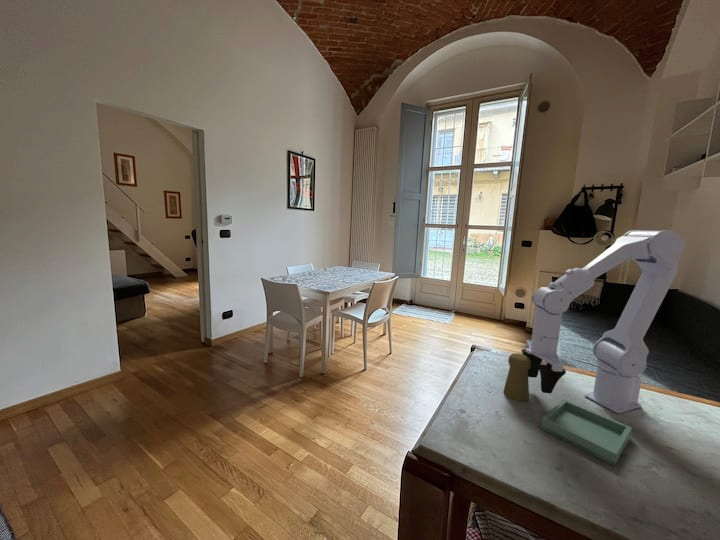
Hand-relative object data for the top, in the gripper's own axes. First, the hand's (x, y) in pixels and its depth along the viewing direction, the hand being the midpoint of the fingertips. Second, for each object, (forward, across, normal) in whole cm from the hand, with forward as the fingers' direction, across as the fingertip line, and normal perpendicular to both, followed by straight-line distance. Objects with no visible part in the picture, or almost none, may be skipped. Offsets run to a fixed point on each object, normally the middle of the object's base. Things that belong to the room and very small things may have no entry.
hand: (538, 384), depth 77 cm
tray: (+3, +14, +4) cm, 14 cm away
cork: (+4, 0, -5) cm, 6 cm away
